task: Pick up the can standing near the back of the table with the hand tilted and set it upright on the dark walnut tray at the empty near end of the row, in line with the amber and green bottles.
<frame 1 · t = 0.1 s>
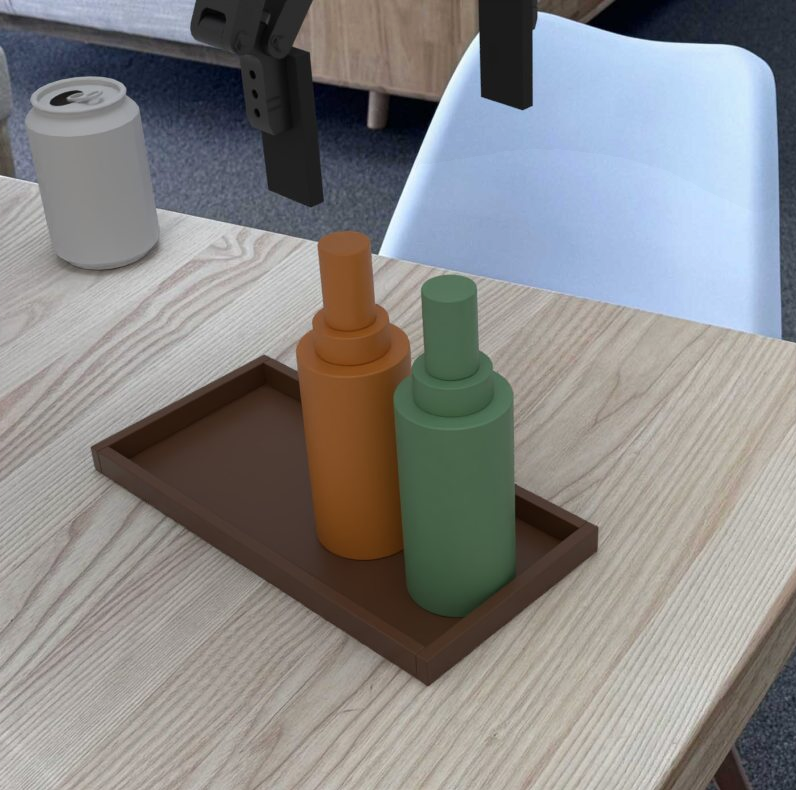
hand: (408, 146, 64), 21 cm above the table, tool pointing down, fingers open, 13 cm apart
amber bottle: (368, 526, 72), resting on tray
can: (109, 252, 100), on the table
tray: (336, 519, 74), on the table
green bottle: (461, 580, 69), resting on tray
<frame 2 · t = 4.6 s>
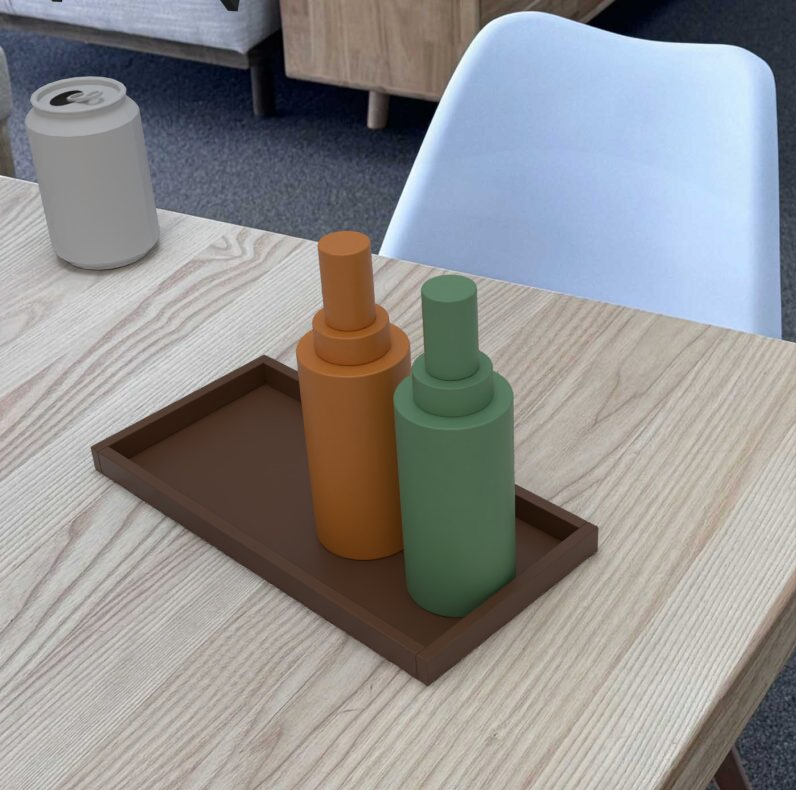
nothing on the table moved.
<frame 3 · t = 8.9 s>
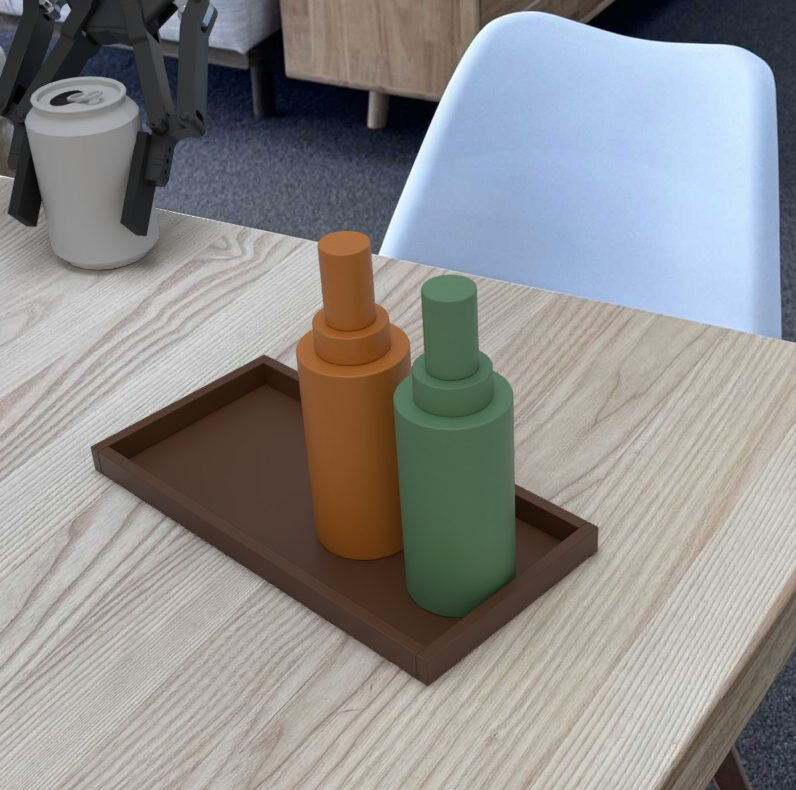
hand: (77, 224, 95), 4 cm above the table, tool tilted 45°, fingers closed on can, 7 cm apart
can: (108, 252, 100), on the table, touching gripper
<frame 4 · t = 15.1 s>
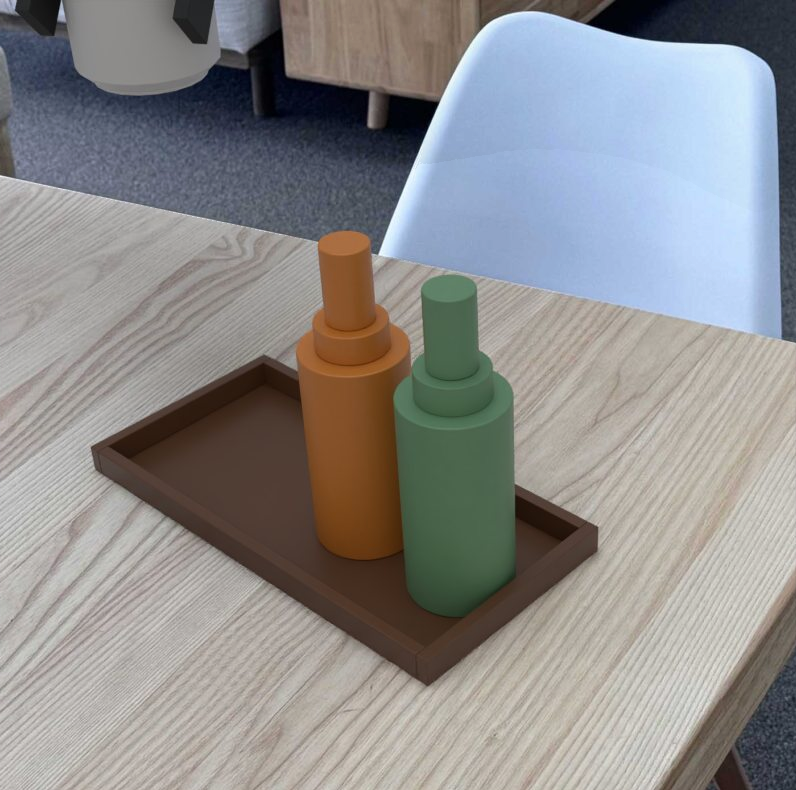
hand: (111, 27, 69), 24 cm above the table, tool tilted 45°, fingers closed on can, 7 cm apart
can: (151, 78, 74), point 20 cm above the table, touching gripper
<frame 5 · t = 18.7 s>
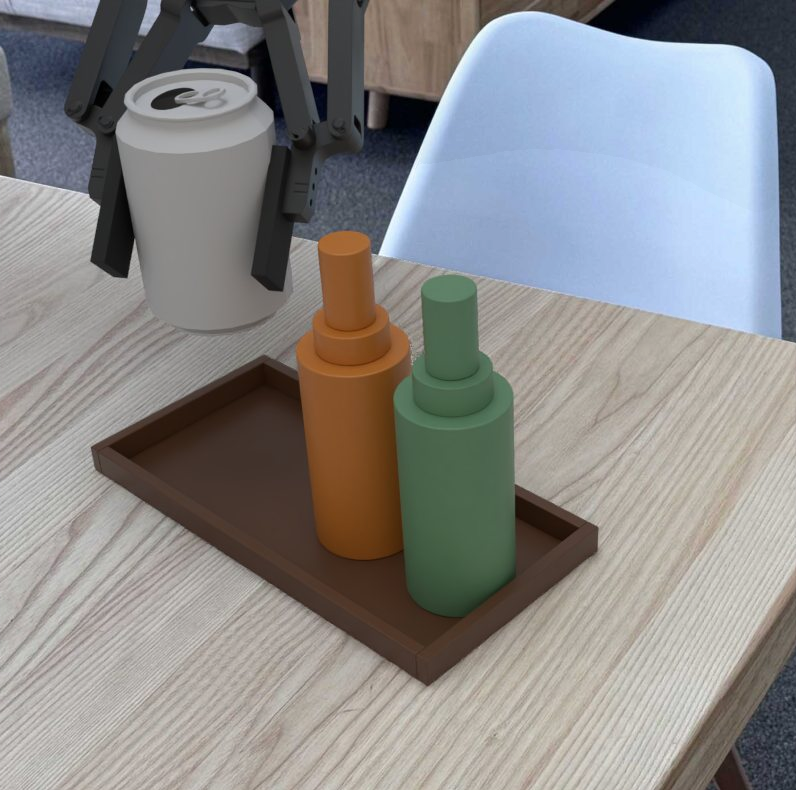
hand: (187, 276, 68), 14 cm above the table, tool tilted 45°, fingers closed on can, 7 cm apart
can: (223, 310, 73), point 10 cm above the table, touching gripper
when the fingers open (5 cm above the table, at t = 21.7 s): can stays where it is, resting on tray.
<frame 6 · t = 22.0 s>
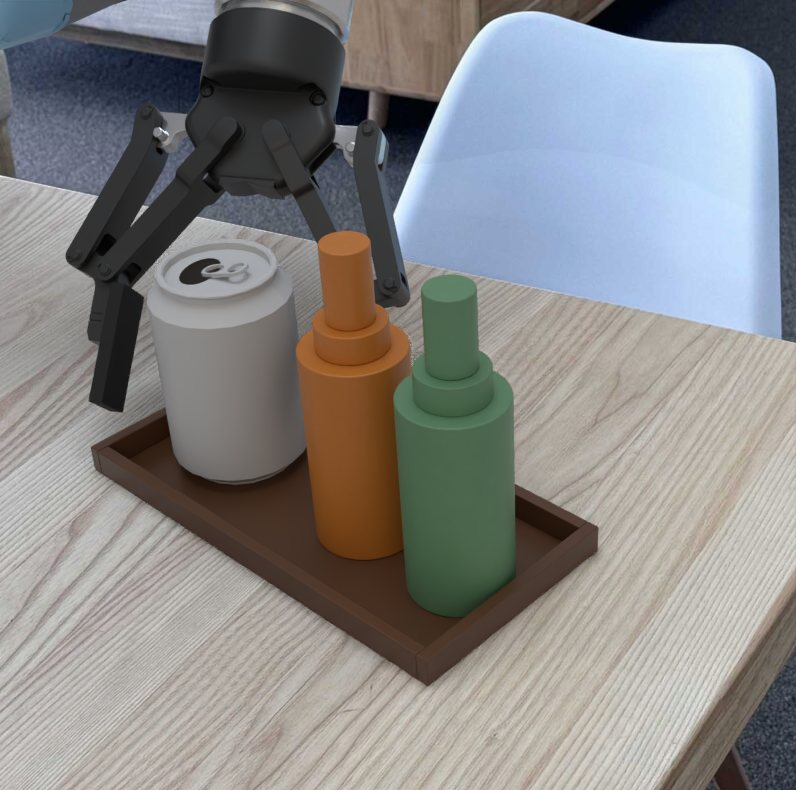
hand: (212, 419, 73), 5 cm above the table, tool tilted 45°, fingers open, 11 cm apart
can: (244, 455, 78), point 1 cm above the table, touching tray
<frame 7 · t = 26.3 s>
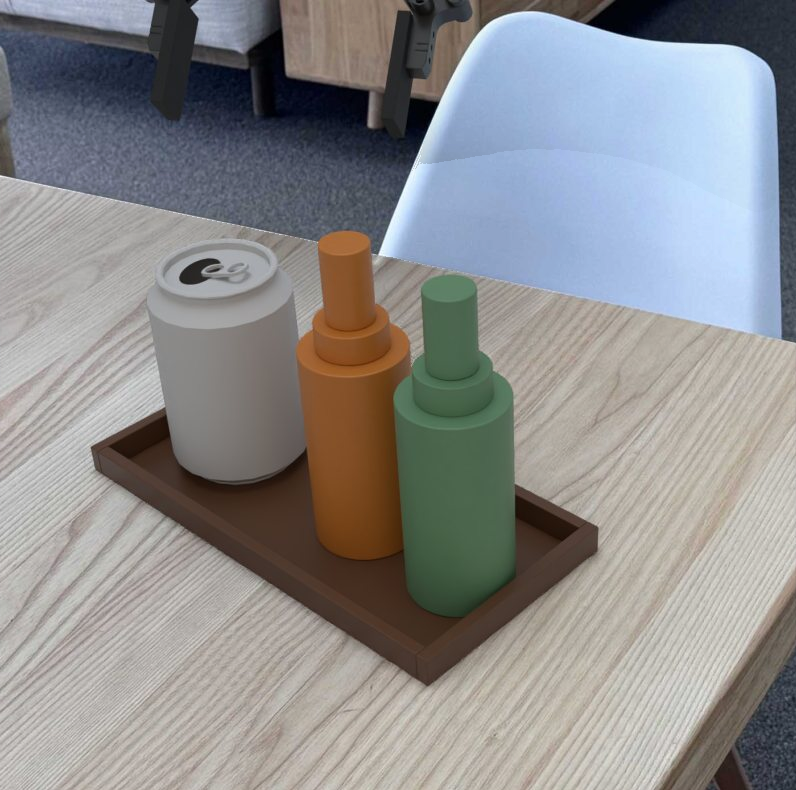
hand: (277, 120, 80), 15 cm above the table, tool tilted 45°, fingers open, 13 cm apart
nothing on the table moved.
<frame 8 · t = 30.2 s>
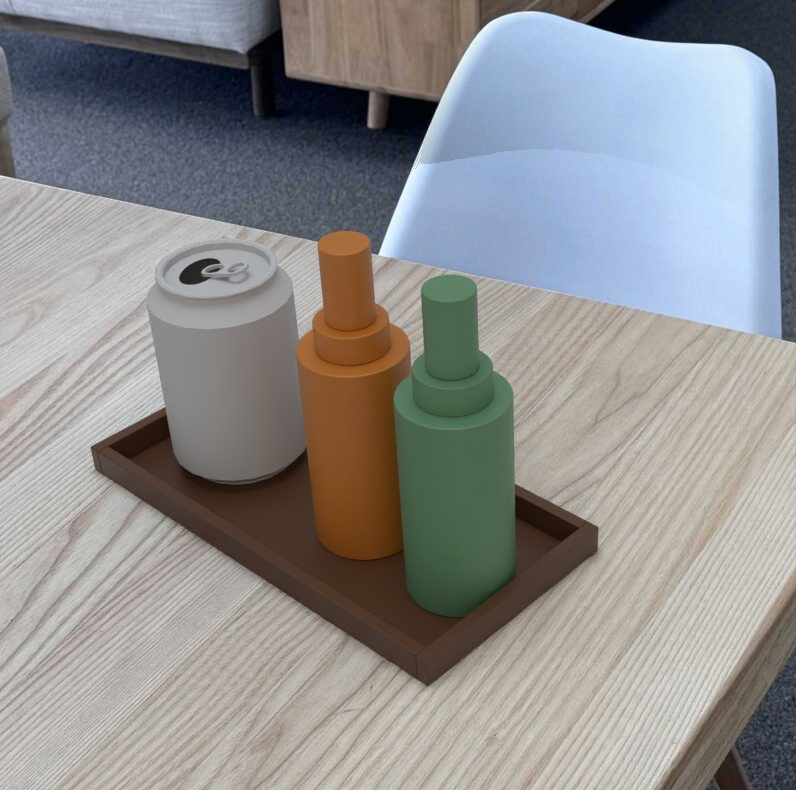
nothing on the table moved.
at the end: can 0.1 cm from the target spot in the tray, point 0.6 cm above the tray's base; can tilted 0°; the gripper is holding nothing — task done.
